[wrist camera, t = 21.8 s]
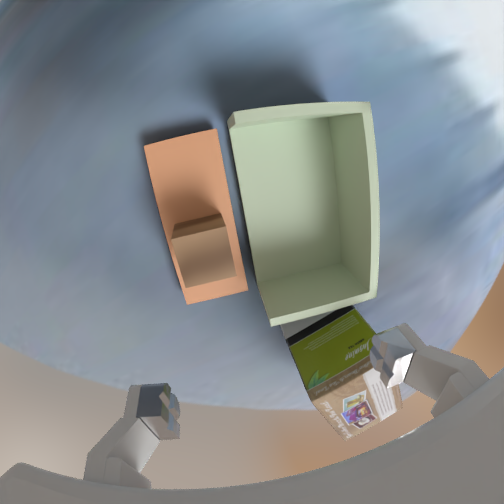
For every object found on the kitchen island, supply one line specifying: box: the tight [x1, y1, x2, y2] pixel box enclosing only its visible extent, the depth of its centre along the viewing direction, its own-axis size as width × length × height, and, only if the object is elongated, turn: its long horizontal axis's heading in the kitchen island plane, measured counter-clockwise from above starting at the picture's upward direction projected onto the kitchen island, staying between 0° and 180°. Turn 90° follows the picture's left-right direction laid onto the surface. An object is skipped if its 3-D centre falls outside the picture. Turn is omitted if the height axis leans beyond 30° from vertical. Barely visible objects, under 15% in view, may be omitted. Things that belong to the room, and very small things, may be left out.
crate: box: [227, 102, 380, 327], centre depth 27 cm, size 20×12×8 cm, turn 10°
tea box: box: [280, 305, 402, 441], centre depth 33 cm, size 15×10×15 cm, turn 29°
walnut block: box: [171, 213, 237, 288], centre depth 27 cm, size 5×5×5 cm
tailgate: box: [144, 129, 248, 305], centre depth 29 cm, size 19×1×8 cm
